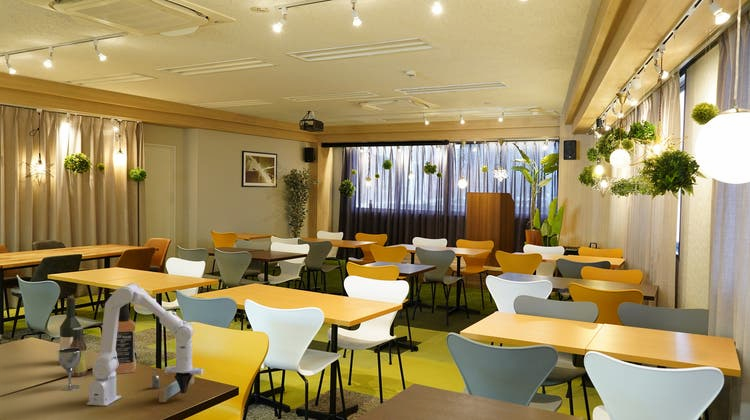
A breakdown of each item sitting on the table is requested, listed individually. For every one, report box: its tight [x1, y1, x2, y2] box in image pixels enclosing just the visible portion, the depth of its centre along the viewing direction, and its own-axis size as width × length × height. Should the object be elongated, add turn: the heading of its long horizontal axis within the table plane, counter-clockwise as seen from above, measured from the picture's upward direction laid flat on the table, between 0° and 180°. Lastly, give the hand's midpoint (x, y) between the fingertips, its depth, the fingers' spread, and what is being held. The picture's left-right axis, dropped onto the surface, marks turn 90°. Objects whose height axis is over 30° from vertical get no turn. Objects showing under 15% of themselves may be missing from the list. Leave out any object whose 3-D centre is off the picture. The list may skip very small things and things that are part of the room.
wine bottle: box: [59, 295, 82, 350], centre depth 255 cm, size 8×8×30 cm
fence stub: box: [188, 374, 195, 388], centre depth 227 cm, size 8×2×5 cm, turn 172°
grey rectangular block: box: [158, 379, 181, 403], centre depth 214 cm, size 14×2×4 cm, turn 172°
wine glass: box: [57, 347, 81, 392], centre depth 222 cm, size 8×8×15 cm
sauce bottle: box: [70, 326, 88, 378], centre depth 238 cm, size 7×6×20 cm
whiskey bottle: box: [115, 303, 137, 375], centre depth 246 cm, size 10×10×32 cm
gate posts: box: [151, 374, 160, 390], centre depth 223 cm, size 2×13×5 cm, turn 82°
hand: (183, 392), depth 213 cm, fingers closed
